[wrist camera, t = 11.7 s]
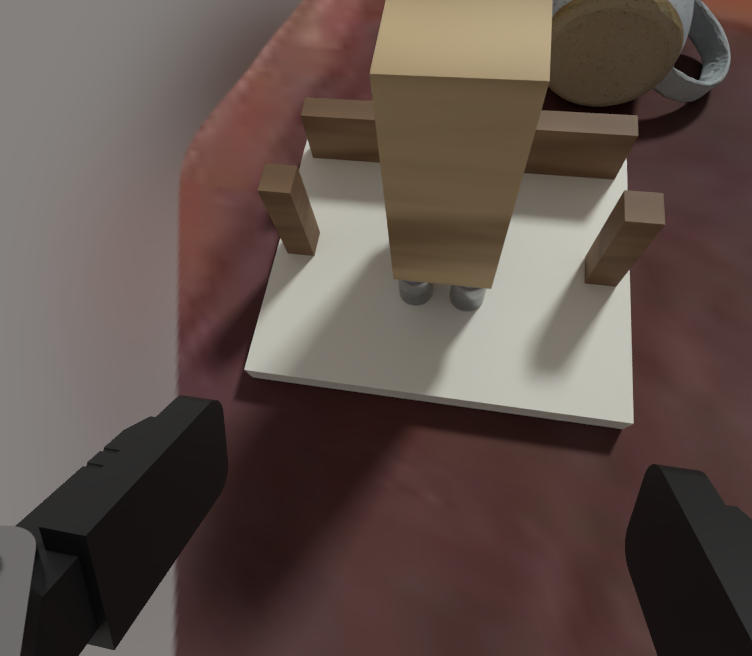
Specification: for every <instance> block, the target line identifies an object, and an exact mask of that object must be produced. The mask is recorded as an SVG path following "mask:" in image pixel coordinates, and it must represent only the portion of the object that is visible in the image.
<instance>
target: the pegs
mask: <svg viewBox="0 0 752 656" xmlns="http://www.w3.org/2000/svg"><path fill="white" fill-rule="evenodd" d="M398 284H399V293H400V297H401V298H402V300H403V301H404V302H406V303H407V304H409V305H413V306H418V305H422V304H425V303H426V302H428V301H429V300H430V298H431V296H432V293H433V283H427V282H416V281H406V280H398ZM486 289H487V288H477V287H467V286H457V285H451V287H450V301H451V303H452V304H453V306H454V307H456V308H457V309H459V310H461V311H473V310H476V309H477V308H479V307H480V306H481V304H482V303H483V300H484V297H485V293H486Z"/></svg>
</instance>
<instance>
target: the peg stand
mask: <svg viewBox="0 0 752 656" xmlns="http://www.w3.org/2000/svg"><path fill="white" fill-rule="evenodd" d="M299 172H300V175H301V178H302V181H303V184H304V187H305V190H306V192H307V195H308V198H309V201H310V204H311V207H312V210H313V213H314V216H315V219H316V222H317V225H318V228H319V231H320V235H319V239H318V243H317V248H316V252H315V256H309V255H299V254H289V253H287V251H286V249H285V247H284V245H283V242H282V240H281V238H280V241H279V245H278V248H277V252H276V256H275V259H274V263H273V267H272V270H271V274H270V277H269V281H268V285H267V288H266V292H265V296H264V299H263V303H262V307H261V310H260V314H259V317H258V321H257V325H256V328H255V332H254V336H253V339H252V343H251V347H250V350H249V354H248V358H247V361H246V365H245V368H244V370H245V371H246V372H247V373H248V374H249V375H250V376H251V377H253V378H261V379H268V380H275V381H282V382H289V383H296V384H303V385H311V386H318V387H325V388H332V389H339V390H346V391H353V392H360V393H368V394H375V395H382V396H389V397H396V398H403V399H410V400H418V401H425V402H432V403H439V404H446V405H453V406H460V407H468V408H475V409H482V410H489V411H496V412H503V413H510V414H517V415H525V416H532V417H539V418H546V419H553V420H560V421H567V422H575V423H582V424H589V425H596V426H603V427H610V428H617V429H624V428H626V427H628V426H630V425H632V424H634V420H633V382H632V345H631V307H630V270H629V271H628V272H627V274H626V275H625V276H624V277H623V279H622V280H621V281H620V283H619V284H618V285H617V286H616V287H615V286H605V285H595V284H585V256H586V255H587V253H588V251H589V249H590V248H591V246H592V244H593V243H594V241H595V239H596V238H597V236H598V234H599V232H600V231H601V229H602V227H603V226H604V224H605V222H606V221H607V219H608V217H609V215H610V214H611V212H612V210H613V209H614V207H615V205H616V204H617V202H618V200H619V198H620V197H621V195H622V193H623V192H624V190H627V158H626V160H625V161H624V163H623V165H622V167H621V169H620V171H619V173H618V174H617V176H616V178H615V180H612V179H599V178H585V177H571V176H557V175H543V174H529V173H524V174H523V178H522V181H521V185H520V188H519V192H518V196H517V199H516V203H515V206H514V210H513V213H512V217H511V221H510V224H509V228H508V231H507V235H506V238H505V242H504V246H503V249H502V253H501V256H500V260H499V263H498V267H497V270H496V274H495V278H494V281H493V285H492V288H491V289H486V293H485V297H484V300H483V303H482V304H481V306H480V307H479V308H477V309H476V310H473V311H461V310H459V309H457V308H456V307H454V306H453V304H452V303H451V301H450V287H451V285H447V284H437V283H433V293H432V296H431V298H430V300H429V301H428V302H426V303H425V304H422V305H418V306H413V305H409V304H407V303H406V302H404V301H403V300H402V298H401V297H400V293H399V284H398V280H396V279H393V271H392V262H391V254H390V245H389V236H388V228H387V219H386V210H385V202H384V193H383V184H382V176H381V167H380V163H377V162H363V161H350V160H336V159H322V158H313V156H312V153H311V149H310V146H309V142H308V139H307V143H306V146H305V150H304V154H303V157H302V161H301V165H300V168H299Z"/></svg>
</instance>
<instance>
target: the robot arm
mask: <svg viewBox="0 0 752 656" xmlns="http://www.w3.org/2000/svg"><path fill="white" fill-rule="evenodd" d="M227 471H228V458H227V447H226V436H225V426H224V415H223V408H222V405H221V403H220V402H219V401H217V400H210V399H203V398H196V397H189V396H179V397H177V398H176V399H175V400H174V401H172V402H171V403H170V404H169V405H168V406H167V407H166V408H165V409H164V410H163V411H162V412H161V413H160V414H159V415H157V416H156V417H148V418H147V419H144V420H142V421H141V422H139V423H137V424H135V425H133V426H131V427H129V428H127V429H125V430H123V431H122V432H121V433H120V434H119V435H118V436H117V437H115V438H114V439H113V440H112V441H111V442H110V443H109V444H107V445H106V446H105V447H104V451H103V452H102V451H100V452H99V453H97V454H96V455H95V456H94V457H93V458H92V459H91V460H89V461H88V462H87V466H86V467H84V466H83V467H82V468H80V469H79V470H78V471H77V472H76V473H75V474H74V475H72V476H71V477H70V478H69V479H68V480H67V481H66V482H65V483H63V484H62V485H61V486H60V487H59V488H58V489H57V490H56V491H55V492H53V493H52V494H51V495H50V496H49V497H48V498H46V500H44V501H43V502H42V503H41V504H40V505H39V506H37V507H36V508H35V509H34V510H33V511H32V512H31V513H30V514H29V515H27V516H26V517H25V518H24V519H23V520H22V521H21V522H19V523H18V524H17V525H16V526H0V656H79V654H80V653H81V652H82V650H83V649H84V647H85V646H86V645H87V644H91V645H94V646H99V647H103V648H107V649H112V650H115V648H116V647H117V646H118V644H119V643H120V641H121V640H122V638H123V637H124V635H125V634H126V632H127V631H128V629H129V628H130V626H131V625H132V623H133V622H134V621H135V619H136V618H137V616H138V615H139V613H140V611H141V610H142V609H143V607H144V606H145V604H146V603H147V601H148V600H149V599H150V597H151V596H152V594H153V593H154V591H155V590H156V588H157V587H158V585H159V583H160V582H161V581H162V579H163V578H164V576H165V575H166V573H167V572H168V571H169V569H170V568H171V566H172V565H173V563H174V562H175V560H176V559H177V557H178V556H179V554H180V553H181V551H182V550H183V548H184V547H185V546H186V544H187V543H188V541H189V540H190V538H191V537H192V535H193V534H194V532H195V531H196V529H197V528H198V526H199V525H200V523H201V522H202V520H203V519H204V518H205V516H206V515H207V513H208V512H209V510H210V509H211V507H212V506H213V504H214V503H215V501H216V500H217V498H218V497H219V495H220V494H221V492H222V490H223V487H224V484H225V481H226V477H227ZM625 554H626V562H627V566H628V570H629V573H630V576H631V579H632V582H633V585H634V587H635V590H636V593H637V596H638V599H639V602H640V605H641V608H642V611H643V614H644V617H645V620H646V623H647V626H648V629H649V632H650V635H651V638H652V641H653V644H654V647H655V649H656V652H657V655H658V656H752V519H751V518H750V517H748V516H747V515H746V514H745V513H744V512H743V511H741V510H740V509H739V508H738V507H735V506H729V505H725V503H724V502H723V500H722V499H721V497H720V495H719V494H718V492H717V491H716V489H715V488H714V486H713V485H712V483H711V482H710V480H709V478H708V477H707V476H706V474H704V473H703V472H702V471H698V470H691V469H684V468H677V467H670V466H663V465H656V464H653V465H651V466H649V468H648V469H647V471H646V473H645V475H644V479H643V482H642V485H641V488H640V491H639V494H638V497H637V500H636V503H635V506H634V509H633V513H632V516H631V519H630V522H629V525H628V528H627V532H626V539H625Z"/></svg>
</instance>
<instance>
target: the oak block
mask: <svg viewBox="0 0 752 656" xmlns="http://www.w3.org/2000/svg"><path fill="white" fill-rule="evenodd" d="M552 4H553V0H386V2H385V6H384V11H383V15H382V20H381V25H380V29H379V34H378V38H377V43H376V47H375V52H374V56H373V61H372V65H371V70H370V81H371V89H372V98H373V107H374V115H375V124H376V133H377V141H378V150H379V159H380V167H381V176H382V184H383V193H384V202H385V210H386V219H387V228H388V236H389V245H390V254H391V262H392V271H393V279H396V280H406V281H416V282H427V283H437V284H447V285H457V286H467V287H477V288H487V289H491V288H492V285H493V281H494V278H495V274H496V270H497V267H498V263H499V260H500V256H501V253H502V249H503V246H504V242H505V238H506V235H507V231H508V228H509V224H510V221H511V217H512V213H513V210H514V206H515V203H516V199H517V196H518V192H519V188H520V185H521V181H522V178H523V174H524V171H525V167H526V163H527V160H528V156H529V153H530V149H531V146H532V142H533V139H534V135H535V131H536V128H537V124H538V121H539V117H540V114H541V110H542V106H543V103H544V99H545V96H546V92H547V89H548V85H549V81H550V57H551V31H552Z"/></svg>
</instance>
